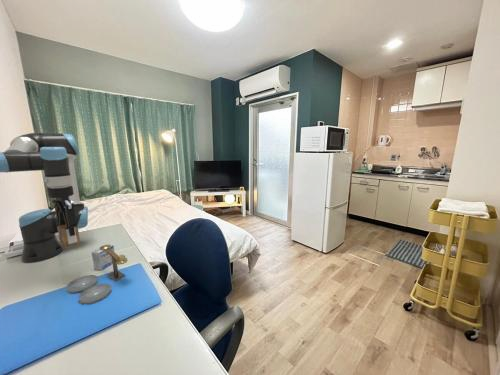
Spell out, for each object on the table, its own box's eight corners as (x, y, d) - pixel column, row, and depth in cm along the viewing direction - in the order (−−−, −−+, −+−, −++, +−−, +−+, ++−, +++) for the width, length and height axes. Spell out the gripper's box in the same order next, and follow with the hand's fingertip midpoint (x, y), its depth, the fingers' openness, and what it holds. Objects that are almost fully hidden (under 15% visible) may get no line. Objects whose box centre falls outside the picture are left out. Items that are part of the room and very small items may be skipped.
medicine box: (102, 270, 95) (99, 253, 93) (93, 269, 96) (91, 252, 94) (116, 261, 102) (113, 245, 101) (108, 260, 103) (106, 244, 101)
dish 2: (74, 297, 78) (73, 294, 77) (103, 283, 86) (103, 280, 86) (86, 308, 73) (85, 305, 72) (116, 291, 81) (116, 288, 81)
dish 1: (62, 287, 83) (61, 284, 83) (91, 274, 92) (90, 271, 91) (73, 296, 78) (72, 293, 78) (102, 282, 86) (102, 279, 86)
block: (60, 244, 86) (57, 226, 85) (75, 240, 90) (72, 222, 89) (65, 247, 84) (62, 229, 82) (80, 242, 88) (77, 225, 86)
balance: (102, 273, 93) (98, 247, 90) (111, 268, 96) (108, 243, 94) (122, 285, 84) (118, 258, 82) (131, 280, 88) (128, 253, 85)
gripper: (39, 185, 84) (50, 239, 88) (56, 190, 74) (67, 250, 79) (63, 183, 90) (72, 233, 94) (81, 187, 81) (90, 242, 85)
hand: (70, 240), depth 87 cm, fingers closed on block, 5 cm apart
